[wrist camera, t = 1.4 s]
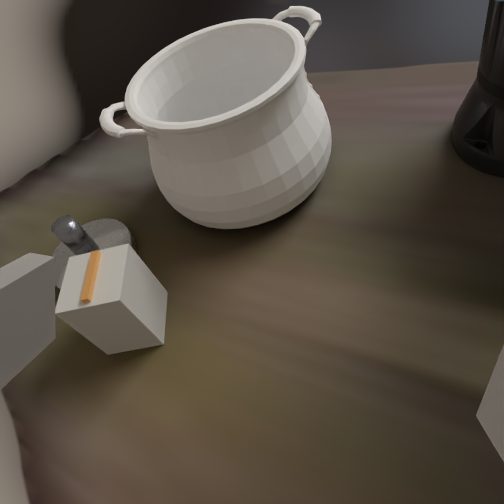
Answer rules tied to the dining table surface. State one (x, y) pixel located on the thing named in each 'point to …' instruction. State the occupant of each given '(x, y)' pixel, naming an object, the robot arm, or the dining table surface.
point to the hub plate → (100, 236)
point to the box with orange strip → (113, 300)
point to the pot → (231, 121)
